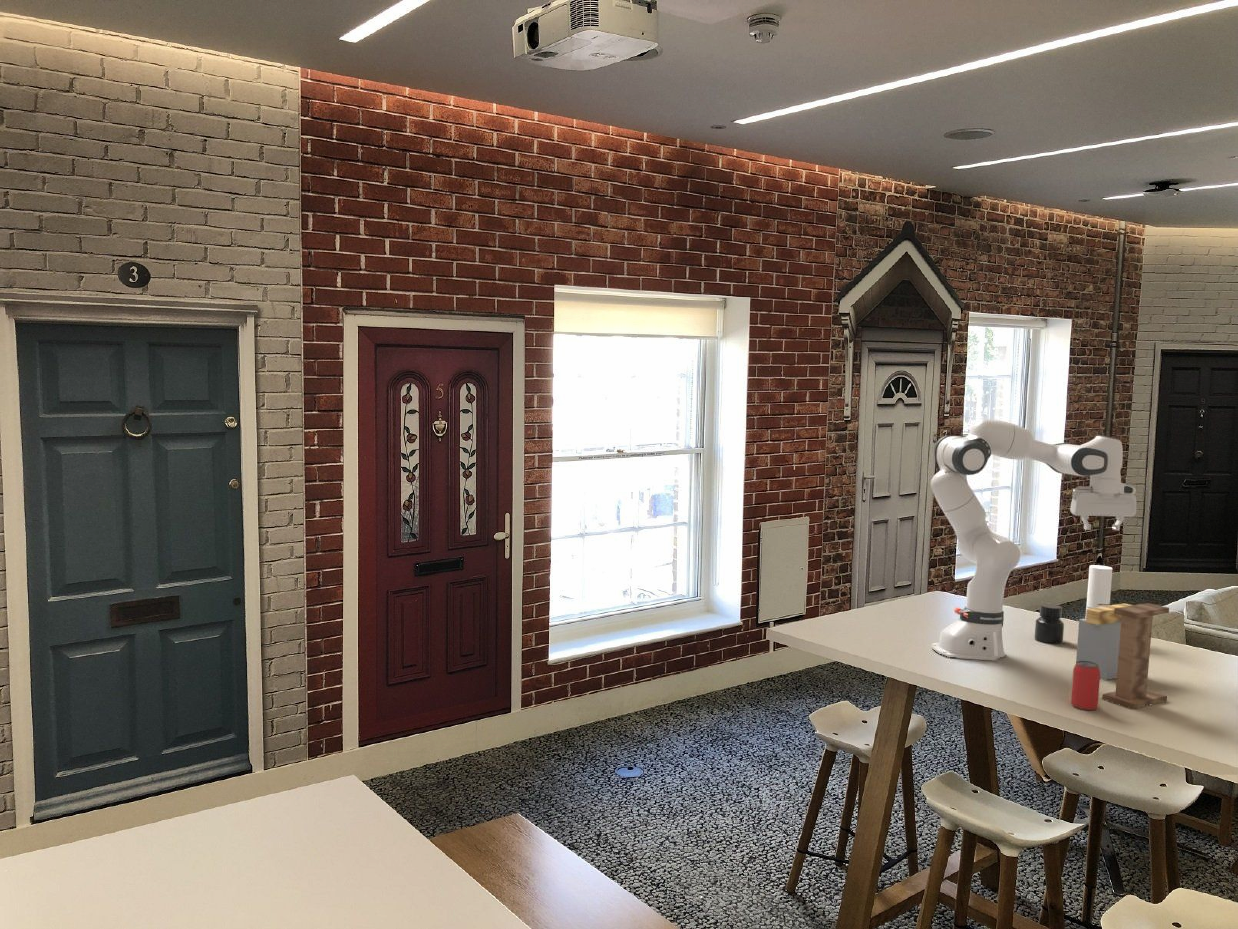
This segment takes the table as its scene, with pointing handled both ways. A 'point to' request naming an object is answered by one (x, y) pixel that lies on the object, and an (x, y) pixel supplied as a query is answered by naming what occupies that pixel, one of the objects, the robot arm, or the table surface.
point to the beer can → (1085, 685)
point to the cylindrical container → (1099, 586)
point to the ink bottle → (1049, 624)
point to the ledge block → (1099, 646)
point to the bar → (1104, 614)
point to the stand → (1135, 657)
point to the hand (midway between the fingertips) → (1101, 529)
